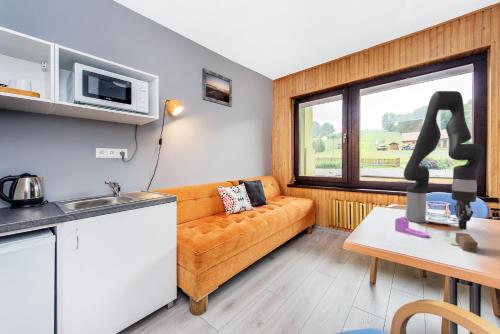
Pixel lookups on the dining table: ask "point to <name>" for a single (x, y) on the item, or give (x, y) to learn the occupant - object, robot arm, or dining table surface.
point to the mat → (453, 241)
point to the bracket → (404, 227)
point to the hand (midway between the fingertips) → (462, 229)
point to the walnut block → (466, 242)
